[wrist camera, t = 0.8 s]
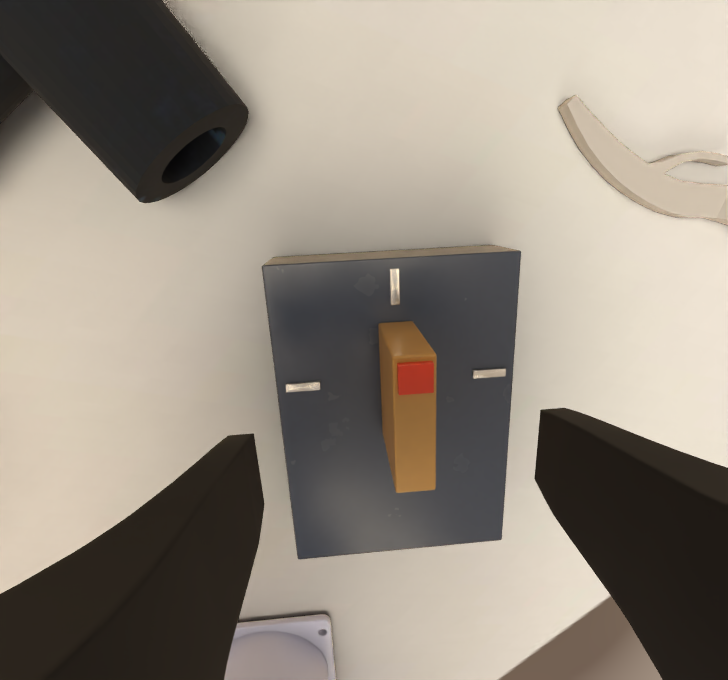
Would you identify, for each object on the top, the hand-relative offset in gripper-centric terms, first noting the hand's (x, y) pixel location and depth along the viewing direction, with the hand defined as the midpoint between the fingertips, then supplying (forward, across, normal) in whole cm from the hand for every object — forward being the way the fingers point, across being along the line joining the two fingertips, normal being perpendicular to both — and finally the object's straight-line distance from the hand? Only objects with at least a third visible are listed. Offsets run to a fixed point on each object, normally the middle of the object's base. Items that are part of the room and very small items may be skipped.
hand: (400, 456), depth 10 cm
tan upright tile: (+7, -1, +1) cm, 7 cm away
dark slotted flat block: (+10, -1, +3) cm, 10 cm away
